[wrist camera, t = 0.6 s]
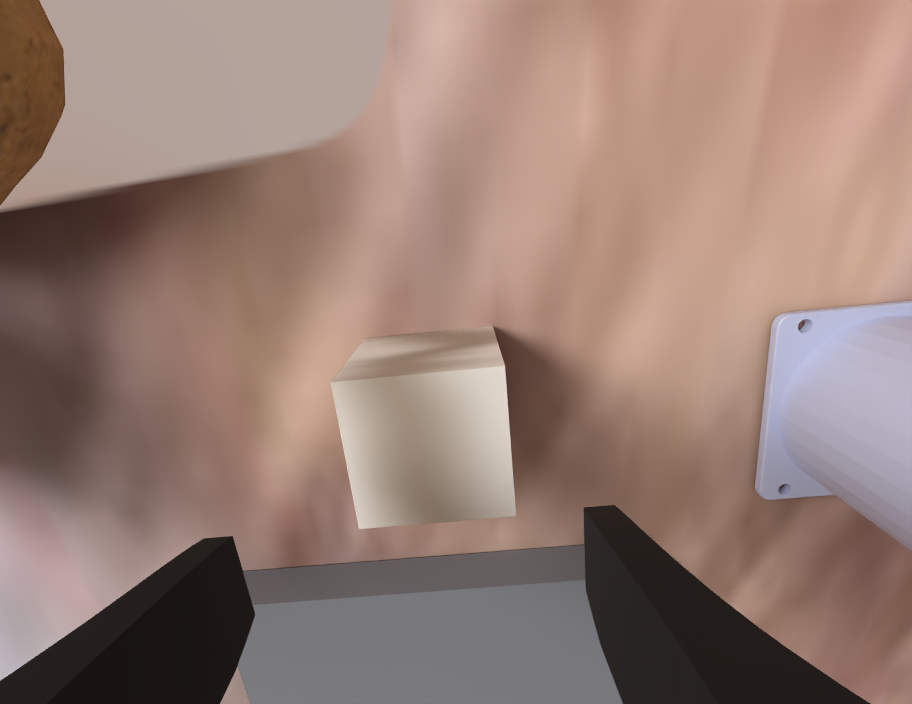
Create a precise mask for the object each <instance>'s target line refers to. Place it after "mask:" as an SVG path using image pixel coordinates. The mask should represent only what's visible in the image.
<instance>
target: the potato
mask: <svg viewBox="0 0 912 704" xmlns="http://www.w3.org/2000/svg"><path fill="white" fill-rule="evenodd" d="M64 106H65V88H64V57H63V48H62V46H61V44H60V42H59V40H58V38H57V36H56V34H55V32H54V30H53V28H52V26H51V24H50V22H49V20H48V18H47V16H46V14H45V11H44V10H43V8H42V5H41V4H40V1H39V0H0V205H1V204H2V203H3V201H4V200H5V199H6V197H7V196H8V195H9V194H10V192H11V191H12V190H13V189H14V187H15V186H16V185H17V184H18V183H19V182H20V180H21V179H22V178H23V177H24V176H25V175H26V174H27V173H28V172H29V170H30V169H31V168H32V167H33V166H34V165H35V164H36V163H37V162H38V160H39V159H40V158H41V157H42V155H43V153H44V150H45V148H46V146H47V144H48V142H49V140H50V138H51V136H52V134H53V132H54V130H55V128H56V126H57V123H58V122H59V119H60V118H61V115H62V112H63V109H64Z"/></svg>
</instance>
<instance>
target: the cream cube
mask: <svg viewBox="0 0 912 704" xmlns="http://www.w3.org/2000/svg"><path fill="white" fill-rule="evenodd" d="M331 386H332V392H333V397H334V402H335V407H336V412H337V417H338V423H339V428H340V433H341V438H342V443H343V448H344V454H345V459H346V464H347V469H348V474H349V479H350V485H351V490H352V495H353V500H354V505H355V511H356V516H357V521H358V526H359V529H365V528H378V527H390V526H402V525H415V524H427V523H439V522H452V521H464V520H476V519H488V518H501V517H513V516H516V508H515V495H514V481H513V467H512V454H511V440H510V427H509V413H508V400H507V386H506V373H505V364H504V361H503V358H502V355H501V351H500V348H499V345H498V342H497V338H496V335H495V332H494V329H493V326H486V327H476V328H466V329H455V330H445V331H435V332H424V333H414V334H404V335H393V336H383V337H373V338H365V339H364V341H363V342H362V343H361V344H360V346H359V347H358V348H357V350H356V351H355V352H354V353H353V355H352V356H351V357H350V358H349V360H348V361H347V362H346V363H345V365H344V366H343V367H342V369H341V370H340V371H339V372H338V374H337V375H336V376H335V377H334V379H333V380H332V381H331Z"/></svg>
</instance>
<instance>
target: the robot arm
mask: <svg viewBox="0 0 912 704" xmlns="http://www.w3.org/2000/svg"><path fill="white" fill-rule="evenodd" d="M802 320H804V322H805V324H804V326H803V327H802V328H801V329H800V330H798V325H799V323H800V322H801V321H802ZM783 484H784V486H783V487H782V488H781V489H779V487H780V486H781V485H783ZM755 491H756V492H757V493H758V494H759V495H760V496H761V497H762V498H764V499H766V500H777V499H790V498H802V497H814V496H827V495H836V496H837V497H838V498H840V499H841V500H842V501H844V502H845V503H846V504H848V505H849V506H851V507H852V508H853V509H855V510H856V511H857V512H859V513H860V514H861V515H863V516H864V517H865V518H867V519H868V520H870V521H871V522H872V523H874V524H875V525H876V526H878V527H879V528H880V529H882V530H883V531H884V532H886V533H887V534H889V535H890V536H891V537H893V538H894V539H895V540H897V541H898V542H899V543H901V544H902V545H903V546H905V547H906V548H908V549H909V550H910V551H912V300H910V301H900V302H889V303H879V304H868V305H858V306H848V307H837V308H827V309H816V310H806V311H795V312H786V313H782V314H780V315H779V316H777V317H776V318H775V319H774V321H773V323H772V326H771V335H770V345H769V355H768V364H767V374H766V384H765V394H764V403H763V413H762V423H761V432H760V442H759V452H758V461H757V471H756V481H755ZM584 540H585V583H586V593H587V597H588V601H589V605H590V608H591V612H592V616H593V620H594V623H595V627H596V631H597V634H598V638H599V641H600V645H601V647H602V650H603V653H604V655H605V658H606V661H607V663H608V666H609V669H610V671H611V674H612V677H613V679H614V682H615V684H616V687H617V690H618V692H619V695H620V698H621V700H622V703H623V704H870V703H868V702H867V701H865V700H864V699H862V698H861V697H859V696H857V695H856V694H854V693H853V692H851V691H850V690H848V689H847V688H845V687H843V686H842V685H840V684H839V683H837V682H836V681H835V680H833V679H832V678H830V677H829V676H827V675H826V674H824V673H823V672H821V671H820V670H818V669H817V668H815V667H814V666H813V665H811V664H810V663H808V662H807V661H805V660H804V659H802V658H801V657H799V656H798V655H796V654H795V653H794V652H792V651H791V650H789V649H788V648H786V647H785V646H783V645H782V644H781V643H779V642H778V641H777V640H775V639H774V638H772V637H771V636H770V635H768V634H767V633H765V632H764V631H763V630H761V629H760V628H759V627H757V626H756V625H755V624H754V623H752V622H751V621H750V620H748V619H747V618H746V617H744V616H743V615H742V614H741V613H739V612H738V611H737V610H735V609H734V608H733V607H731V606H730V605H729V604H728V603H726V602H725V601H724V600H722V599H721V598H720V597H719V596H718V595H716V594H715V593H714V592H713V591H711V590H710V589H709V588H708V587H707V586H705V585H704V584H703V583H702V582H701V581H699V580H698V579H697V578H696V577H695V576H694V575H692V574H691V573H690V572H689V571H688V570H686V569H685V568H684V567H683V566H682V565H681V564H679V563H678V562H677V561H676V560H675V559H674V558H672V557H671V556H670V555H669V554H668V553H667V552H666V551H665V550H663V549H662V548H661V547H660V546H659V545H658V544H657V543H656V542H655V541H653V540H652V539H651V538H650V537H649V536H648V535H647V534H646V533H645V532H644V531H642V530H641V529H640V528H639V527H638V526H637V525H636V524H635V523H634V522H633V521H632V520H631V519H629V518H628V517H627V516H626V515H625V514H624V513H623V512H622V511H621V510H619V509H618V508H617V507H616V506H615V505H611V506H599V507H586V508H584ZM254 617H255V611H254V608H253V605H252V601H251V598H250V594H249V591H248V587H247V584H246V581H245V577H244V574H243V570H242V567H241V563H240V560H239V557H238V553H237V550H236V546H235V543H234V539H233V536H229V537H217V538H205V539H203V540H201V541H199V542H198V543H196V544H195V545H193V546H191V547H190V548H188V549H187V550H185V551H184V552H182V553H181V554H180V555H178V556H177V557H175V558H174V559H172V560H171V561H170V562H168V563H167V564H165V565H164V566H163V567H161V568H160V569H159V570H157V571H156V572H154V573H153V574H152V575H150V576H149V577H147V578H146V579H145V580H143V581H142V582H141V583H139V584H138V585H136V586H135V587H134V588H132V589H131V590H130V591H128V592H127V593H125V594H124V595H123V596H121V597H120V598H119V599H117V600H116V601H114V602H113V603H112V604H110V605H109V606H107V607H106V608H105V609H103V610H102V611H101V612H99V613H98V614H96V615H95V616H94V617H92V618H91V619H90V620H88V621H87V622H85V623H84V624H83V625H81V626H80V627H78V628H77V629H75V630H74V631H72V632H71V633H69V634H68V635H67V636H65V637H64V638H62V639H61V640H59V641H58V642H56V643H55V644H53V645H52V646H51V647H49V648H48V649H46V650H45V651H43V652H42V653H40V654H39V655H38V656H36V657H35V658H33V659H32V660H30V661H29V662H27V663H26V664H24V665H23V666H22V667H20V668H19V669H17V670H16V671H14V672H13V673H11V674H10V675H8V676H7V677H5V678H4V679H2V680H1V681H0V704H220V702H221V700H222V698H223V696H224V694H225V692H226V690H227V688H228V686H229V683H230V681H231V679H232V677H233V675H234V673H235V671H236V668H237V666H238V663H239V660H240V658H241V655H242V652H243V649H244V647H245V644H246V641H247V638H248V635H249V632H250V629H251V626H252V623H253V620H254Z"/></svg>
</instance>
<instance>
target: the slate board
mask: <svg viewBox="0 0 912 704" xmlns="http://www.w3.org/2000/svg"><path fill="white" fill-rule="evenodd" d="M243 574H244V577H245V581H246V584H247V587H248V591H249V594H250V598H251V601H252V605H253V608H254V611H255V617H254V620H253V623H252V626H251V629H250V632H249V635H248V638H247V641H246V644H245V647H244V649H243V652H242V655H241V658H240V660H239V663H238V668H239V671H240V674H241V677H242V680H243V683H244V687H245V690H246V693H247V696H248V699H249V702H250V704H623V703H622V700H621V698H620V695H619V692H618V690H617V687H616V684H615V682H614V679H613V677H612V674H611V671H610V669H609V666H608V663H607V661H606V658H605V655H604V653H603V650H602V647H601V645H600V641H599V638H598V634H597V631H596V627H595V623H594V620H593V616H592V612H591V608H590V605H589V601H588V597H587V593H586V583H585V545H575V546H562V547H549V548H536V549H524V550H511V551H498V552H485V553H472V554H460V555H447V556H434V557H421V558H409V559H396V560H383V561H370V562H357V563H345V564H332V565H319V566H306V567H293V568H281V569H268V570H255V571H243Z"/></svg>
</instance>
